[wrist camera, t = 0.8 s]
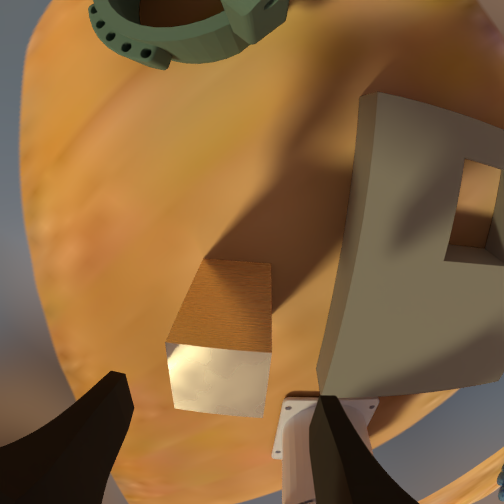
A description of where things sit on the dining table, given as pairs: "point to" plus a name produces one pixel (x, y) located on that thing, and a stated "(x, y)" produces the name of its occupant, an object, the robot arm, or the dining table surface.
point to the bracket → (185, 31)
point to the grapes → (501, 484)
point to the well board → (414, 259)
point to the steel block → (223, 340)
